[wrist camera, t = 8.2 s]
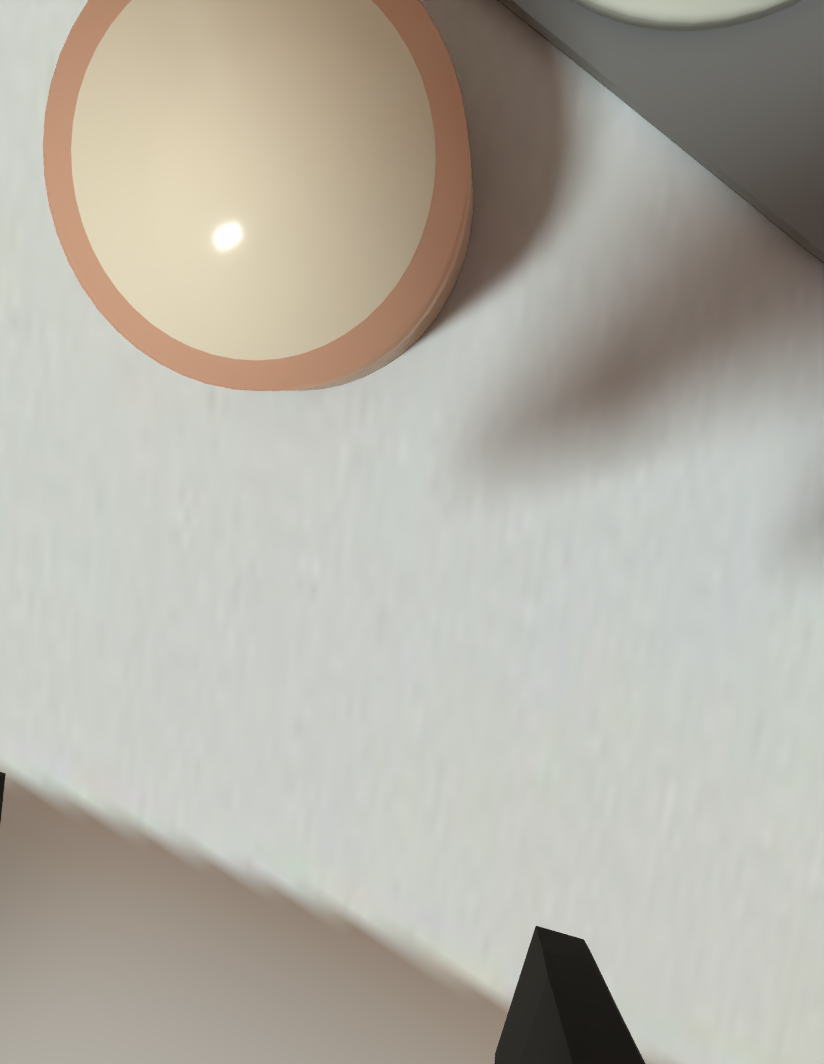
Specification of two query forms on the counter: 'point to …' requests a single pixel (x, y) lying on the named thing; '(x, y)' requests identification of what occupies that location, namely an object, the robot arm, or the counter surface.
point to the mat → (719, 97)
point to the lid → (684, 12)
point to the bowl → (261, 182)
